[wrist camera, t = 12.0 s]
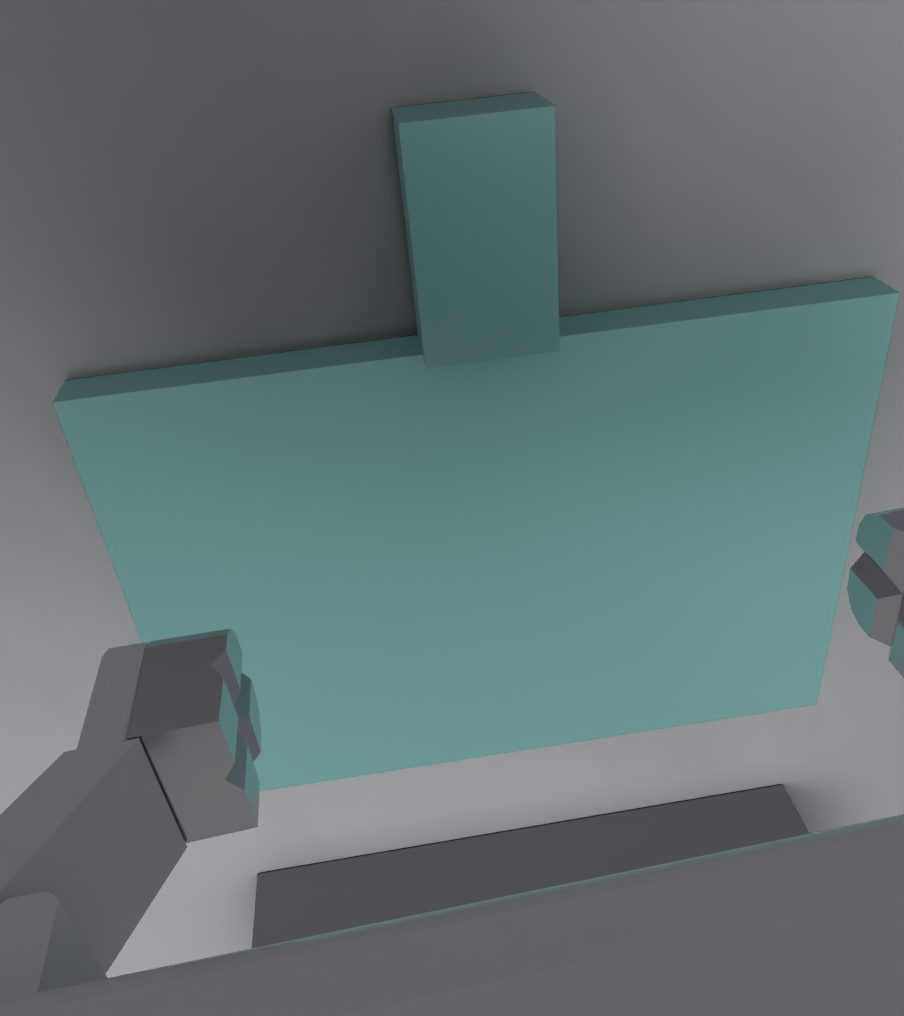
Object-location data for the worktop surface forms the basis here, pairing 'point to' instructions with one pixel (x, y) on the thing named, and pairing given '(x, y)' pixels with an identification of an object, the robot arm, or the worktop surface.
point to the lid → (498, 489)
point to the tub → (511, 863)
